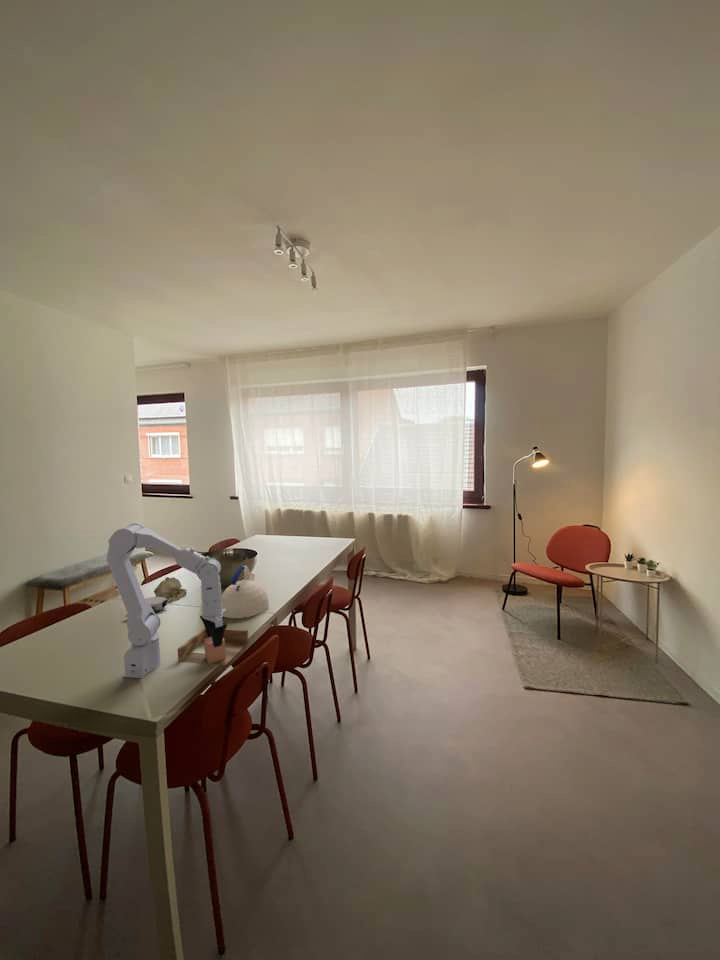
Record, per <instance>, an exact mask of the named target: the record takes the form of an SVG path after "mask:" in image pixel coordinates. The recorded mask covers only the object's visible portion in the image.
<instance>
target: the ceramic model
mask: <svg viewBox="0 0 720 960" xmlns="http://www.w3.org/2000/svg"><path fill="white" fill-rule="evenodd" d="M153 593H154V595H155V597H164V598H166V599H167V601H169V599H170V598H171V599H170V601H169V602H168V604H171V603H174V602H176V601H178V600H181V599H182V598H185V597H186V596H187V589H186V588H182V584H181V581H180V580H179V579H178V578H176V577H175V576H174V577H169V576H167V577H165V578H164V580H162V581H160V582H159V584H158V585H157V586H156V588H155V589H154V590H153Z"/></svg>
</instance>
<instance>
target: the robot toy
mask: <svg viewBox="0 0 720 960" xmlns="http://www.w3.org/2000/svg"><path fill="white" fill-rule="evenodd" d="M170 599H171V598H170ZM170 599H169V601H170ZM145 601H146V604H147V605H148V606H150V607H151V608H152V609H153V611H154V612H155V611H161V610H162V609H164V608H166V606H167V605H168V604H169V603H168V602H169V601H167V599H166V598H164V597H156V596H153V597H152V596H151V597H146V598H145ZM125 617H126V618H128V613H126V614H125Z"/></svg>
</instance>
